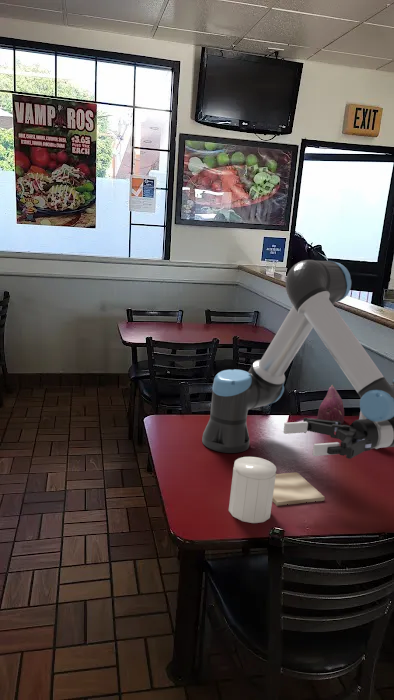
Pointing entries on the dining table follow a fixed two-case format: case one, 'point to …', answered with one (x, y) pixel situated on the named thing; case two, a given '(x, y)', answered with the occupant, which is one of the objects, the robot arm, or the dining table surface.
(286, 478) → the coaster
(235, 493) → the white rounded cylinder
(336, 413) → the vegetable
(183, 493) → the dining table surface
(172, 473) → the dining table surface
